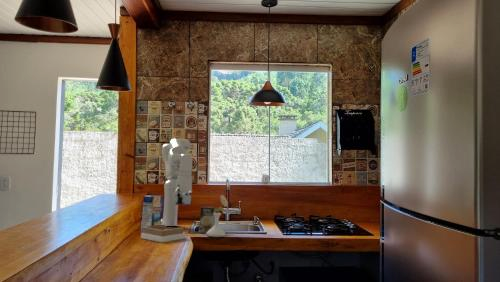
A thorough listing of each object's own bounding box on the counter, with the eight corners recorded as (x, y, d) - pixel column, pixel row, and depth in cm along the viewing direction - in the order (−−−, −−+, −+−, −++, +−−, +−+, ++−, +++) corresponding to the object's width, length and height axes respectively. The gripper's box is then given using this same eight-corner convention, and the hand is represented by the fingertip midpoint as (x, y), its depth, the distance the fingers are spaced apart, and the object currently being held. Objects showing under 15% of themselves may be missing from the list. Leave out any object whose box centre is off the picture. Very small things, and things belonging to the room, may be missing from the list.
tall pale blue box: (175, 204, 213) (175, 194, 214) (180, 204, 218) (181, 194, 218) (184, 205, 209) (185, 195, 210) (190, 205, 213) (191, 195, 214)
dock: (140, 238, 191) (141, 226, 191) (165, 234, 206) (165, 224, 206) (161, 242, 182) (162, 230, 183) (185, 238, 197) (185, 227, 198)
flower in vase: (214, 239, 200) (217, 195, 203) (202, 236, 208) (205, 194, 210) (231, 237, 210) (233, 195, 212) (218, 234, 217) (220, 194, 220)
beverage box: (140, 233, 204) (143, 196, 207) (150, 231, 215) (153, 195, 217) (150, 234, 202) (153, 196, 205) (160, 232, 213) (163, 196, 215)
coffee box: (198, 232, 218) (200, 207, 220) (200, 231, 224) (202, 206, 226) (212, 234, 217) (214, 208, 219) (214, 232, 223) (216, 207, 225)
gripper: (190, 174, 224) (187, 202, 223) (170, 173, 210) (168, 203, 208) (198, 174, 220) (196, 203, 218) (179, 174, 206) (177, 204, 204)
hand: (182, 203), depth 213 cm, fingers closed on tall pale blue box, 5 cm apart
